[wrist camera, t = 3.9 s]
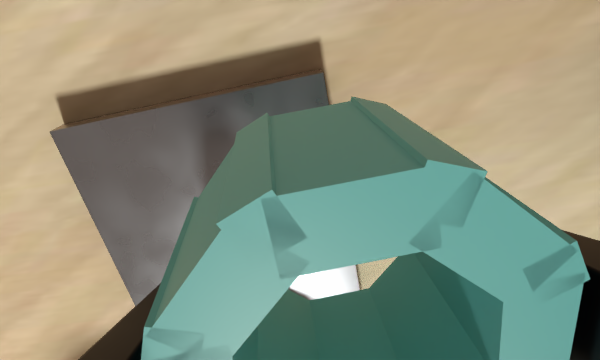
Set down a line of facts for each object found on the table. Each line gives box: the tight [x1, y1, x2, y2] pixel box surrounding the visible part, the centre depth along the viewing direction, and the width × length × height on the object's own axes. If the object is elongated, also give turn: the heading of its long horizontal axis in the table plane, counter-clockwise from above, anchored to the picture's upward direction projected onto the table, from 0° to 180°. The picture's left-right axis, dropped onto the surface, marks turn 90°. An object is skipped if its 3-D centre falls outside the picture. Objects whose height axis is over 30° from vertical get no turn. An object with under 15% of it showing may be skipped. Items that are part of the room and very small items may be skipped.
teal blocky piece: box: [141, 97, 590, 360], centre depth 7 cm, size 7×7×4 cm
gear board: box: [50, 69, 360, 306], centre depth 18 cm, size 12×22×6 cm, turn 11°
